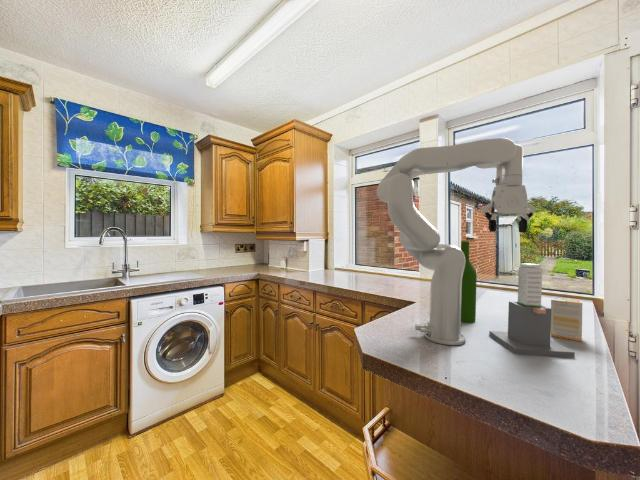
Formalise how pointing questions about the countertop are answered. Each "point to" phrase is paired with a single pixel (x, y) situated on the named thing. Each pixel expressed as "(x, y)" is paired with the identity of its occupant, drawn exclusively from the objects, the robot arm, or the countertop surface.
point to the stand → (530, 332)
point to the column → (529, 285)
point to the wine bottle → (468, 288)
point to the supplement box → (566, 319)
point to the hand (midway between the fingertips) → (507, 231)
